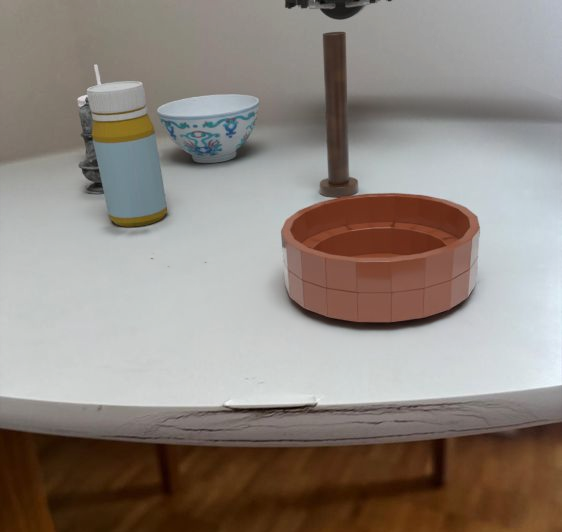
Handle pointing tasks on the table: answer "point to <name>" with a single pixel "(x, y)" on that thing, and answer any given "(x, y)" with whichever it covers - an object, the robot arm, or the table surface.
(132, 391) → the table surface
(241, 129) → the chinaware
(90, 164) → the grey tall piece
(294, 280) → the bowl
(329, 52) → the stirring stick
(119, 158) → the bottle
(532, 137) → the table surface
